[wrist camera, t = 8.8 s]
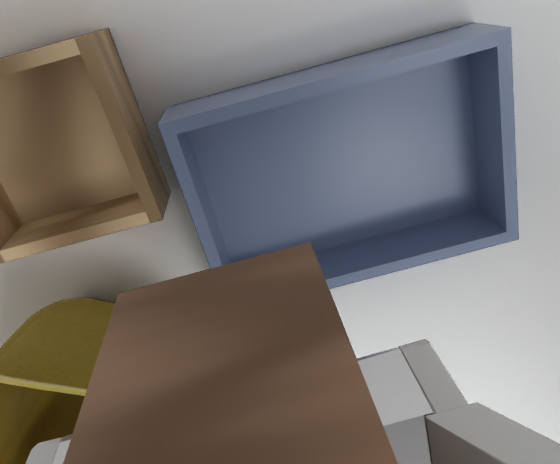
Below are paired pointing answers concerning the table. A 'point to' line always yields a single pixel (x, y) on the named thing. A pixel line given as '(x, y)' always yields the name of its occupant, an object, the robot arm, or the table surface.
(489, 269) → the table surface
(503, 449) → the robot arm
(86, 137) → the wooden serving tray
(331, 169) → the blue tray
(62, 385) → the flower pot
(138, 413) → the walnut block
